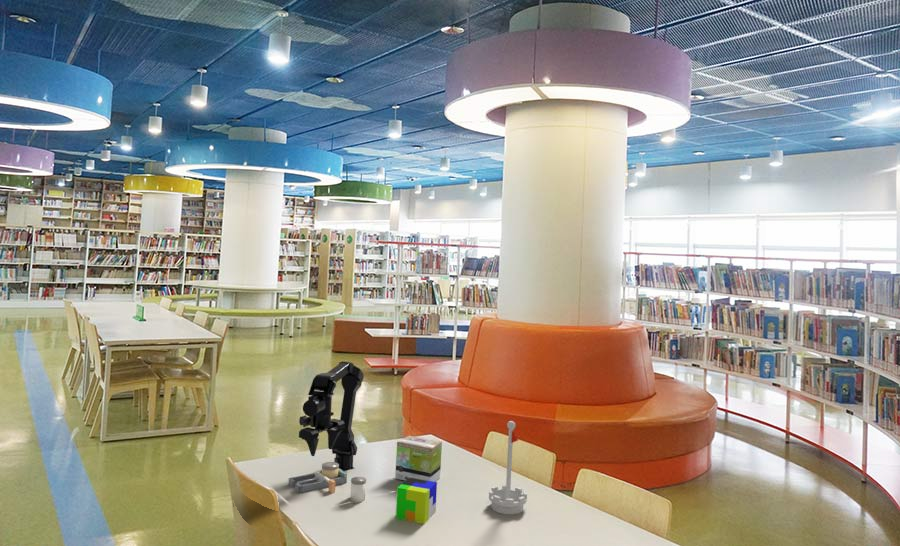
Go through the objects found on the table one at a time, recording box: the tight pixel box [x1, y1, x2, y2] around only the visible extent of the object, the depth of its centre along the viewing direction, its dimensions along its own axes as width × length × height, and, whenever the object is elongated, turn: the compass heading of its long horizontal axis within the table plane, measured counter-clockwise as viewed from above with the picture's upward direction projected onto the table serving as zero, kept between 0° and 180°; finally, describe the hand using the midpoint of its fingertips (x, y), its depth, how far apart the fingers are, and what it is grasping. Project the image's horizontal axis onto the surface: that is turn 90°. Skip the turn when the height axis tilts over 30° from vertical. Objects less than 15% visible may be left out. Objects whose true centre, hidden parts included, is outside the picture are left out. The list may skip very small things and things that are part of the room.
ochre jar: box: [321, 461, 339, 479], centre depth 216 cm, size 6×6×6 cm
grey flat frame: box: [288, 468, 348, 494], centre depth 213 cm, size 18×10×4 cm, turn 128°
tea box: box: [394, 435, 443, 482], centre depth 223 cm, size 15×10×15 cm, turn 68°
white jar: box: [350, 476, 367, 503], centre depth 201 cm, size 5×5×7 cm
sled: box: [297, 470, 336, 494], centre depth 208 cm, size 10×14×4 cm
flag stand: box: [488, 420, 528, 515], centre depth 200 cm, size 13×13×30 cm
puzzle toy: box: [395, 478, 438, 525], centre depth 191 cm, size 10×10×10 cm
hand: (321, 452), depth 210 cm, fingers open, 9 cm apart
